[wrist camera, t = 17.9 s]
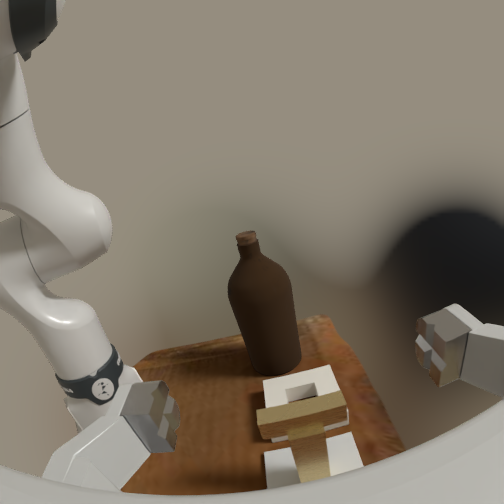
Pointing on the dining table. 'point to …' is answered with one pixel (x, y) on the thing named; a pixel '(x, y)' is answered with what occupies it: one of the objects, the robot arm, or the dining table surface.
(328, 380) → the socket block
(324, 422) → the t key
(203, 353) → the dining table surface
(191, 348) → the dining table surface
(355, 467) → the white mat
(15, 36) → the robot arm
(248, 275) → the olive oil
